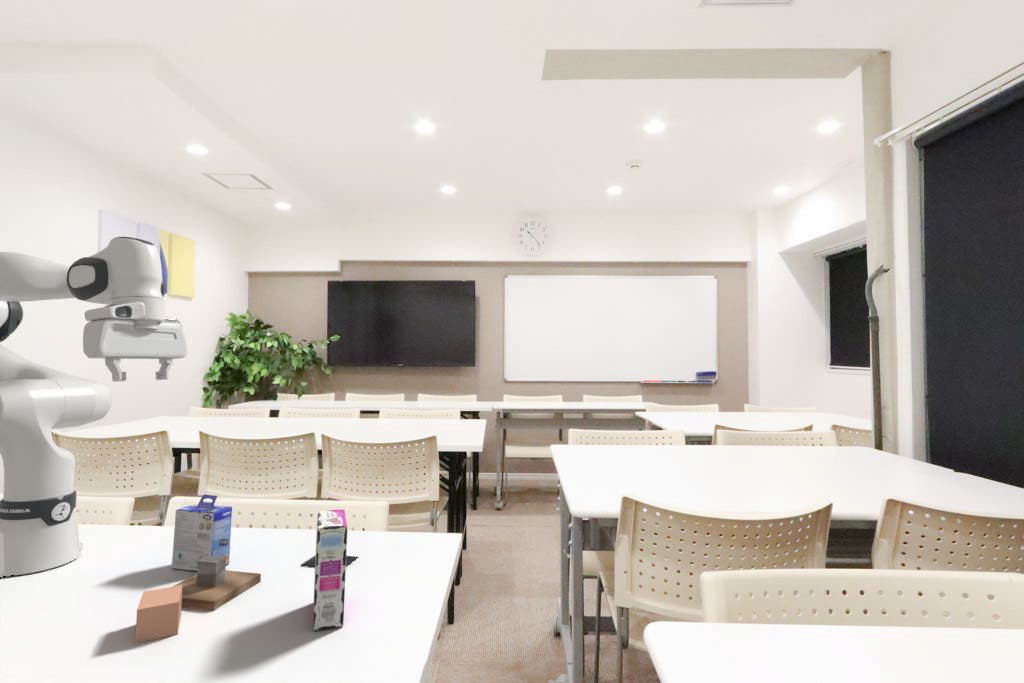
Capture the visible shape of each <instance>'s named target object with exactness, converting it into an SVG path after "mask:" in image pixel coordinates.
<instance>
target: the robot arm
mask: <svg viewBox="0 0 1024 683" xmlns="http://www.w3.org/2000/svg"><path fill="white" fill-rule="evenodd" d="M160 256H161V255H160V252H159V250H158V247H157V246H156V245H155V244H154V243H153V242H151V241H148V240H144V239H141V238H135V237H131V236H116V237H113V238H112V239H111V240H110V241H109V242H108V245H107V246H106V247H104V249H102V250H100V251H99V252H97V253H95V254H92V255H90V256H88V257H87V256H85V257H81V258H79V259H77V260H76V261H74V262H73V263H72V264H71V265H70V266H68V265H65V264H61V263H57V262H54V261H50V260H48V259H44V258H41V257H37V256H33V255H29V254H24V253H19V252H12V251H11V252H10V251H0V343H1V342H4V341H6V339H8V338H9V337H10V335H12V334H13V333H15V331H16V330H17V329H18V327H19V326H20V325H21V323H22V321H23V317H24V310H23V306H22V305H21V302H23V303H24V302H36V301H49V300H50V301H51V300H63V299H67V300H68V299H77V300H79V301H83V302H86V303H91V304H92V303H93V304H98V305H99V304H100V305H104V306H102V307H97V308H91V309H89V310H85V311H84V319H85V321H87V322H86V324H85V325H84V327H83V332H82V349H83V351H82V352H83V354H84V355H86V357H87V358H88V359H104V363H105V366H106V368H107V369H108V370H109V372H110V373H111V380H112V382H114V383H115V382H126V381H127V371H122V368H121V367H120V365H119V364H121V363H122V362H121V361H122V359H123V360H125V359H126V360H127V359H128V360H132V359H133V360H134V359H135V360H136V359H137V360H142V359H143V360H146V359H147V360H149V359H150V360H158V364H160V367H159V370H158V371H155V380H156V381H163V380H164V381H165V380H168V379H169V371H170V369H171V367H172V365H173V363H174V362H173V360H176V359H178V360H179V359H183V358H185V357H186V356H187V355H188V344H187V340H186V339H187V338H186V335H185V334H186V333H185V331H184V325H183V323H182V322H180V321H179V319H177V318H176V317H167V316H165V308H164V307H165V306H164V302H165V301H164V297H165V294H166V283H165V281H164V278H163V270H162V262H161V261H162V260H161V257H160ZM111 394H112V393H111V391H110V390H109V388H108V387H107V386H106V385H105V384H103V383H102V382H100V381H97V380H92V379H86V378H82V377H79V376H75V375H71V374H69V373H66V372H63V371H60V370H57V369H54V368H51V367H49V366H48V367H47V366H45V365H41V364H38V363H36V362H33V361H30V360H28V359H27V358H24V357H23V356H21V355H19V354H18V353H16V352H14V351H13V350H11V349H8V348H7V347H5V346H3V345H2V344H0V456H1V460H2V464H3V498H2V499H0V577H1V578H4V577H3V576H6V577H12V576H11V575H14V576H19V575H20V576H22V575H26V574H27V575H28V574H33V573H36V572H37V573H38V572H41V571H46V570H51V569H53V568H57V567H60V566H63V565H66V564H68V563H70V561H71V562H73V561H74V559H75V560H76V559H77V558H79V557H80V556H81V552H80V551H81V550H82V549H83V548H84V544H83V542H80V535H79V534H80V532H79V521H78V520H79V518H78V514H77V512H76V511H74V509H75V508H76V507H77V501H78V496H77V491H76V490H75V477H76V476H75V475H76V457H75V456H74V453H72V452H71V451H69V450H68V449H65V447H64V448H63V447H61V446H58V445H57V444H56V443H55V442H54V439H53V435H52V430H57V429H65V428H66V429H67V428H76V427H81V426H84V425H87V424H91V423H95V422H97V421H100V420H102V419H104V417H106V416H107V415H108V413H109V411H110V409H111V407H112V395H111ZM82 547H83V548H82ZM81 548H82V549H81ZM80 549H81V550H80ZM79 555H80V556H79Z"/></svg>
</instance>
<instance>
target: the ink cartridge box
mask: <svg viewBox="0 0 1024 683" xmlns="http://www.w3.org/2000/svg"><path fill="white" fill-rule="evenodd" d="M217 498H218V495H212V494H211V495H210V494H202V496H201V498H200V500H199V502H198V504H191V505H188V506H187V505H186V506H184V507H182V508H179V509H176V510H175V517H174V518H175V519H174V530H173V546H172V556H171V557H172V558H171V569H173V570H175V569H176V570H185V571H191V572H197V564H198V560H201V559H203V558H205V557H207V556H211V557H222V558H226V566H229V565H230V557H231V556H230V553H231V551H230V550H231V536H232V534H231V533H232V518H233V517H232V513H233V506H225V505H215V503H216V501H217ZM207 499H209V500H212V501H211V502H209V501H204V500H207Z"/></svg>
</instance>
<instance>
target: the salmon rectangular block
mask: <svg viewBox="0 0 1024 683" xmlns="http://www.w3.org/2000/svg"><path fill="white" fill-rule="evenodd" d="M173 586H174V585H173ZM181 605H182V585H180V586H174V587H172V586H169V587H163V588H157V589H151V590H146V591H144V590H143V592H142V594H141V598H140V600H139V603H138V606H137V609H136V620H135V621H136V622H135V623H136V624H135V644H138V642H139V643H143V642H148V641H151V640H156V639H161V638H165V637H166V638H167V637H171V636H175V635H178V634H179V628H180V623H181V618H182V607H181Z"/></svg>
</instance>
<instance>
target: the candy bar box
mask: <svg viewBox="0 0 1024 683" xmlns="http://www.w3.org/2000/svg"><path fill="white" fill-rule="evenodd" d="M316 520H317V522H316V535H315V536H316V537H315V538H316V540H315V542H316V543H315V555H316V558H315V568H314V586H313V588H314V589H313V592H314V593H313V612H312V613H313V618H312V619H313V620H312V621H313V622H312V631H313V632H315V631H317V632H318V631H323V630H331V629H337V628H342V627H344V620H345V619H344V618H345V616H344V615H345V596H346V574H347V573H346V572H347V570H346V569H347V568H346V556H347V549H348V547H347V545H348V523H347V516H346V510H345V509H331V510H319V511H317V519H316Z"/></svg>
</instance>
